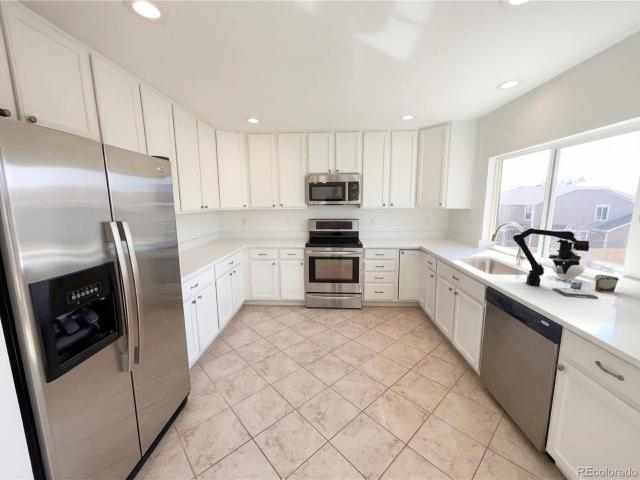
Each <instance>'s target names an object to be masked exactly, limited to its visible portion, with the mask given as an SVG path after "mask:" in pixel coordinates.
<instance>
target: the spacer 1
mask: <svg viewBox="0 0 640 480" xmlns="http://www.w3.org/2000/svg"><path fill="white" fill-rule="evenodd" d="M556 273H558V274H567V272H566V273H563V269H562V265H558V266H557V272H556ZM556 273H555V274H556Z"/></svg>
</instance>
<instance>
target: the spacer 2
mask: <svg viewBox="0 0 640 480" xmlns="http://www.w3.org/2000/svg"><path fill="white" fill-rule="evenodd" d="M570 282H571V283H570V287H569V289H582V286H583V285H582V284H583V281H579V280H577V281H576V280H572V281H570Z"/></svg>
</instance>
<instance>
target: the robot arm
mask: <svg viewBox="0 0 640 480" xmlns="http://www.w3.org/2000/svg"><path fill="white" fill-rule="evenodd" d="M532 234H533V235H541V236H548V237H554V238H557V239H558V240H556V243H559V248H558V249H557V253H558V254H550V255H548V256H549V257H548V259H550V260H551V261H552V263H553V262H554V264H555V266H556V268H557V266H558V265H562V269H563V273H566V272H567V271H568V269H569V268H570V267H571V266H572V265H579V264H580V262H579V260H580V261H581V259H582V256H580V255H575V253H573V252H572V251H571V249H572V246H573V249H575V250H577V251H578V252H579V251H580V252H581V251H582V252H589V250H590V240H579V239H577V238H575V233H574V232H573V231H571V230H569V229H568V230H565V229H564V230H553V229H552V230H551V229H542V228H535V227H528V228H527V229H526V230H522V232H517V233H515V234H513V237H512V238H513V241H514V242H515V243H516V245H518V246H519V247H520V249H521V251H522V252H523V254H524V256H525V257H526V259H527V260H528V262H529V264H530V267H531V269H530V270H529V271H528V275H526V281H525V282H524V283H525V284H527V285H529V286H534V287H541V277H542V276H543V275H544V274H545V267H544V266H543V265H542V263H541V262H539V263H538V261H537V260H536V258H535V257H534V255H533V254H532V251H530V248H529V247H528V245H527V242H526V239H525V238H527V237H529V236H530V235H532ZM563 262H564V263H563Z"/></svg>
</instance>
